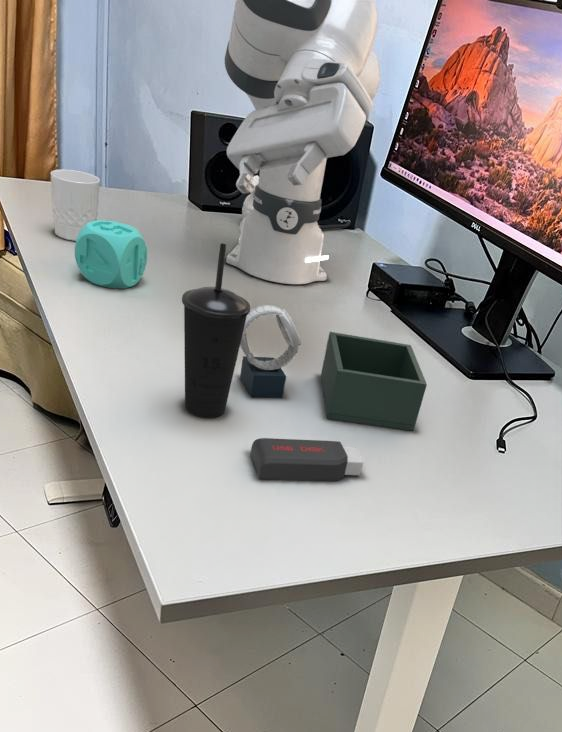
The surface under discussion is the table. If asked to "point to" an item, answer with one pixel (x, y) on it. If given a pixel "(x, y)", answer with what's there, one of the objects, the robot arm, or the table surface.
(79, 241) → the decorative dice
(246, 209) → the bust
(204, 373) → the drinking cup
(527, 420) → the table surface
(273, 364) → the watch
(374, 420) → the open box
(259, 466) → the usb drive
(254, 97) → the robot arm
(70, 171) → the white cup
